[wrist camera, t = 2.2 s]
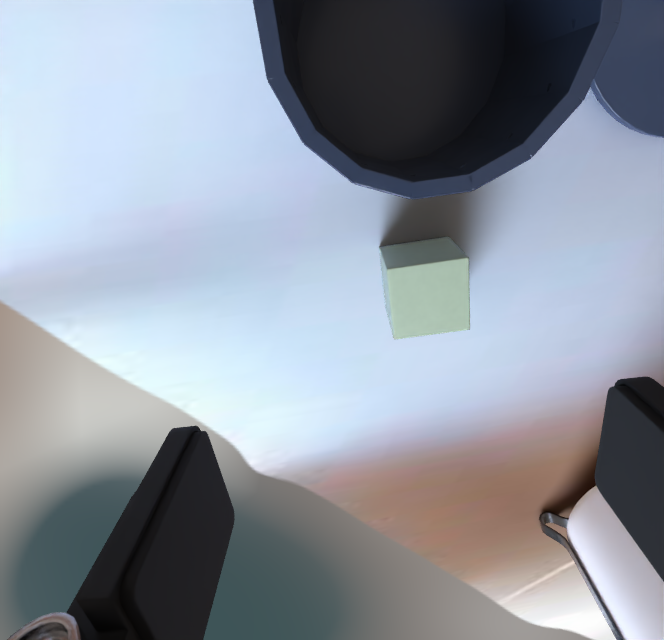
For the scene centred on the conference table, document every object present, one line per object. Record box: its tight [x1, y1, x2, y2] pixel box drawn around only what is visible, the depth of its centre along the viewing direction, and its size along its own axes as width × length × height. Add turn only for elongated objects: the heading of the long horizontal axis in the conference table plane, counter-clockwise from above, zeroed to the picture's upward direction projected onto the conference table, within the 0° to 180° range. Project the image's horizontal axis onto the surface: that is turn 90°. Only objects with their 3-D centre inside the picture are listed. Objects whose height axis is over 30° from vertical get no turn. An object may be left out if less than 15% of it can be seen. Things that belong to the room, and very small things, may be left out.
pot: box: [253, 0, 623, 200], centre depth 18 cm, size 12×12×10 cm
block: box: [379, 237, 470, 339], centre depth 26 cm, size 5×5×5 cm
